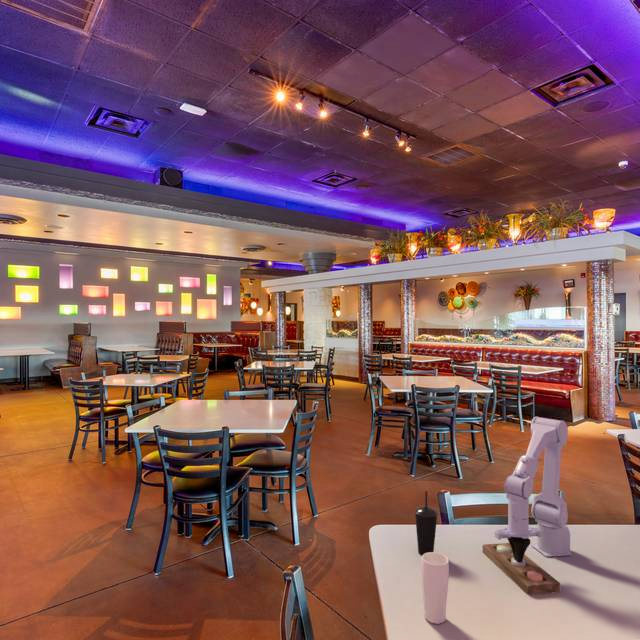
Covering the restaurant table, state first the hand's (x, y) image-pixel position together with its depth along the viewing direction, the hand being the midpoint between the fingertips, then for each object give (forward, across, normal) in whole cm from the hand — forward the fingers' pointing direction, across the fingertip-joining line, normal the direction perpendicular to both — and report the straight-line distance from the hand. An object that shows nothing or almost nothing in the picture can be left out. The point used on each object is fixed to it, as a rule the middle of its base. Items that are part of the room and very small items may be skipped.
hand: (518, 560), depth 136 cm
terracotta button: (+3, 0, -8) cm, 8 cm away
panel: (+3, 0, 0) cm, 3 cm away
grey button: (+2, 0, 0) cm, 2 cm away
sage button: (+3, 0, +8) cm, 8 cm away
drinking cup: (+3, -24, +14) cm, 28 cm away
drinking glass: (+3, -35, -18) cm, 39 cm away
